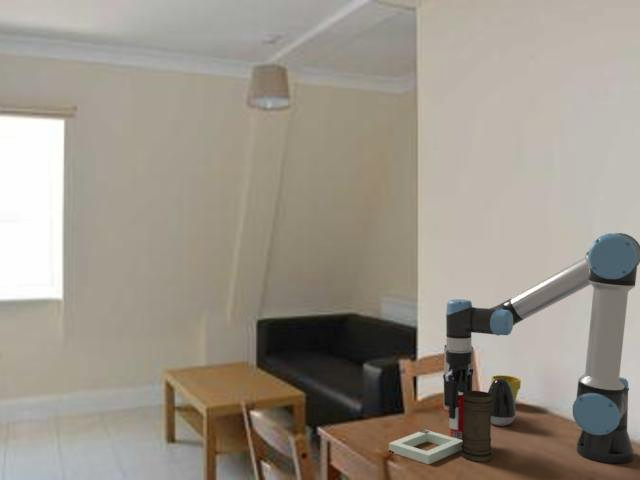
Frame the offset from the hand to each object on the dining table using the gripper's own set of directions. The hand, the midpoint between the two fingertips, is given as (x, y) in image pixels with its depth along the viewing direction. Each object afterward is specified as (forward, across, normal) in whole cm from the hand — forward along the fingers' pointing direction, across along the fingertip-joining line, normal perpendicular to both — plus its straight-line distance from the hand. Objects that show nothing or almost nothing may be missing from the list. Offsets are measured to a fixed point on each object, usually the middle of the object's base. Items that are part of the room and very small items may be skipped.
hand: (458, 426), depth 202 cm
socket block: (+5, +13, -2) cm, 14 cm away
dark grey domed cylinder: (+5, -26, 0) cm, 26 cm away
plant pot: (+5, -48, -10) cm, 49 cm away
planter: (+5, -30, -19) cm, 36 cm away
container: (+5, +7, +10) cm, 13 cm away
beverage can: (+5, -1, 0) cm, 5 cm away
